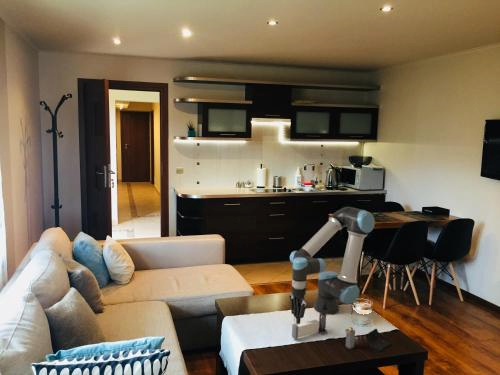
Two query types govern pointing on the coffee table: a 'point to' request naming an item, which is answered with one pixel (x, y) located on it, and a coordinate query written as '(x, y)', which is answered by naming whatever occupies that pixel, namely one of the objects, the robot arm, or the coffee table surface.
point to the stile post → (350, 337)
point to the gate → (305, 329)
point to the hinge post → (322, 324)
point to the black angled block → (376, 340)
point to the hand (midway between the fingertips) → (296, 328)
